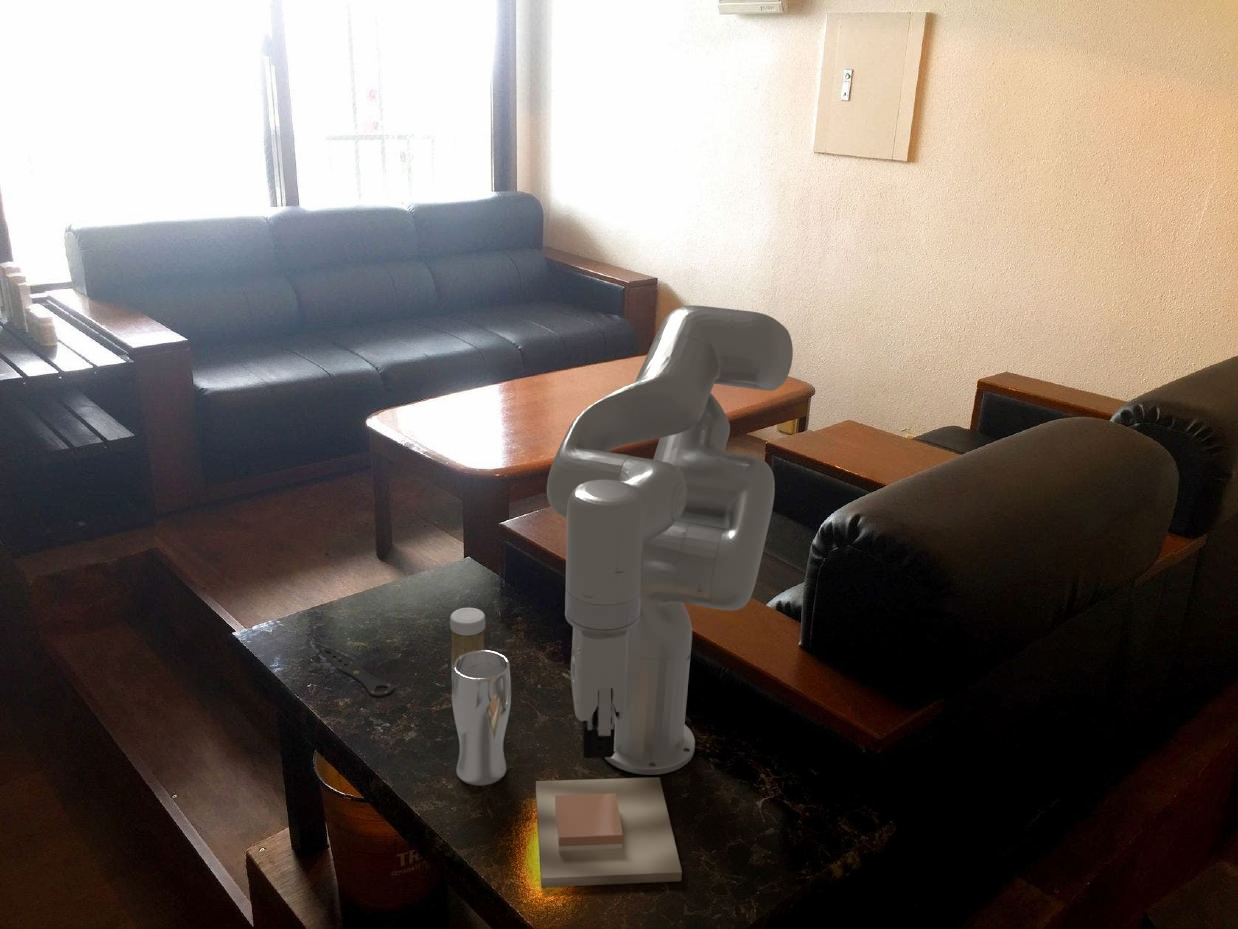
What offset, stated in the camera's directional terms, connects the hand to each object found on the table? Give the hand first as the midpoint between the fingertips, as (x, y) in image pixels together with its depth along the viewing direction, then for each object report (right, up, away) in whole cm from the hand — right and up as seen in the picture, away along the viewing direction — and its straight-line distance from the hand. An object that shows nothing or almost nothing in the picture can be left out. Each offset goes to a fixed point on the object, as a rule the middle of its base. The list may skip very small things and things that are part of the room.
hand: (597, 752), depth 108 cm
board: (+1, -11, +8) cm, 14 cm away
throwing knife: (-37, +1, +38) cm, 53 cm away
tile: (-1, -11, +3) cm, 11 cm away
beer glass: (-15, -7, +17) cm, 24 cm away
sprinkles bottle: (-18, -2, +31) cm, 36 cm away
